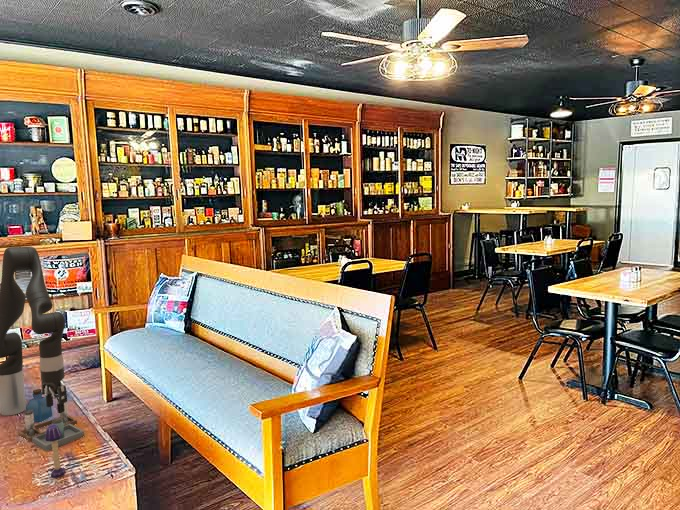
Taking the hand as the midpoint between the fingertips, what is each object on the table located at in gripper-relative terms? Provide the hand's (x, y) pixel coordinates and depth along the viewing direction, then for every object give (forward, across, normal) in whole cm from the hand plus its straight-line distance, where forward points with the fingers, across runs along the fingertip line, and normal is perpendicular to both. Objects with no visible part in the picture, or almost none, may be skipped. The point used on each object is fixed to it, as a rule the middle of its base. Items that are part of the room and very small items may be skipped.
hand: (55, 409), depth 187 cm
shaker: (+11, 0, 0) cm, 11 cm away
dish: (+12, 0, 0) cm, 12 cm away
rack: (+12, -12, +2) cm, 17 cm away
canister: (+12, -12, +8) cm, 19 cm away
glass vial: (+12, -12, -4) cm, 17 cm away
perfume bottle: (+12, -25, +4) cm, 28 cm away
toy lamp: (+12, +24, -12) cm, 29 cm away
